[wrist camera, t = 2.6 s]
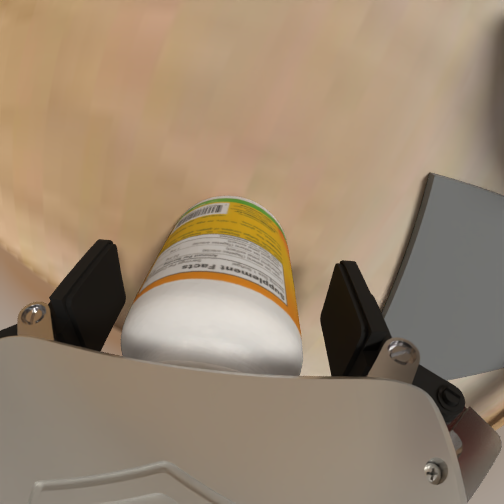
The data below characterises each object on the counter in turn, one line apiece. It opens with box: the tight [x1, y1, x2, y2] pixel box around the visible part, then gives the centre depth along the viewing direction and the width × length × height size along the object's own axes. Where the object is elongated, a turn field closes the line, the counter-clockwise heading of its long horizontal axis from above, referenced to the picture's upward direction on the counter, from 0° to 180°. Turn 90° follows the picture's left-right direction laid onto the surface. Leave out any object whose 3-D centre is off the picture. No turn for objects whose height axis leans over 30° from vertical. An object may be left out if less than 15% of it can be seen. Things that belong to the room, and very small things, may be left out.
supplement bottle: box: [121, 196, 303, 376], centre depth 10 cm, size 5×5×10 cm
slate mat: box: [382, 173, 504, 380], centre depth 16 cm, size 20×16×1 cm
